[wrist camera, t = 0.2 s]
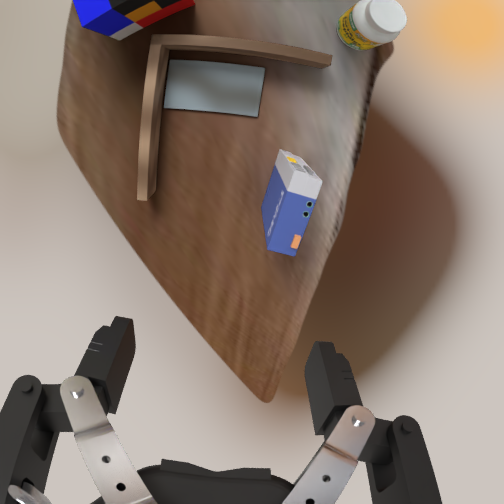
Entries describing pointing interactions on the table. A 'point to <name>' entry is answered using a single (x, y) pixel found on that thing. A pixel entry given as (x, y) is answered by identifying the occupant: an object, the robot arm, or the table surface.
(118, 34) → the puzzle toy
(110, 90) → the table surface
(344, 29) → the supplement bottle
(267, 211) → the walkman
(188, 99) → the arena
